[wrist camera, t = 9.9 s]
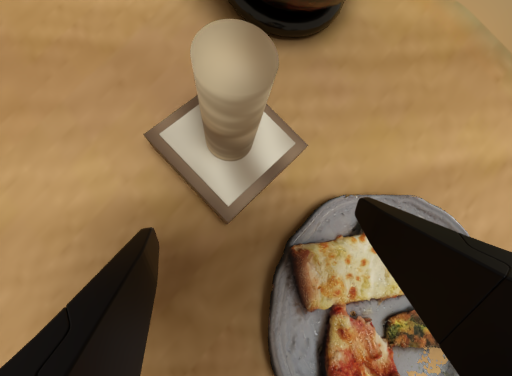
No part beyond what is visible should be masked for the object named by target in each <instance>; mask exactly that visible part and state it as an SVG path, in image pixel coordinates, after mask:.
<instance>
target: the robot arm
mask: <svg viewBox="0 0 512 376" xmlns="http://www.w3.org/2000/svg"><path fill="white" fill-rule="evenodd" d="M355 217H356V219H357V221H358V223H359V225H360V226H361V228H362V230H363V232H364V234H365V236H366V237H367V239H368V241H369V243H370V244H371V246H372V248H373V249H374V251H375V252H376V254H377V255H378V257H379V258H380V259H381V261H382V262H383V264H384V265H385V267H386V268H387V270H388V271H389V273H390V274H391V276H392V277H393V279H394V280H395V282H396V283H397V285H398V286H399V288H400V289H401V290H402V292H403V293H404V295H405V296H406V298H407V299H408V301H409V302H410V304H411V305H412V307H413V308H414V310H415V311H416V313H417V314H418V316H419V317H420V318H421V320H422V321H423V323H424V324H425V326H426V327H427V329H428V330H429V332H430V333H431V335H432V336H433V338H434V339H435V341H436V342H437V344H439V347H440V348H441V350H442V351H443V353H444V354H445V356H446V357H447V359H448V360H449V362H450V363H451V364H452V366H453V367H454V369H455V370H456V372H457V373H458V375H459V376H512V252H510V251H507V250H504V249H501V248H498V247H496V246H493V245H490V244H487V243H485V242H482V241H479V240H477V239H474V238H471V237H469V236H466V235H464V234H461V233H457V232H456V231H454V230H451V229H449V228H446V227H444V226H441V225H438V224H436V223H433V222H431V221H428V220H426V219H423V218H421V217H418V216H416V215H413V214H411V213H408V212H406V211H403V210H401V209H398V208H396V207H393V206H390V205H388V204H385V203H383V202H380V201H378V200H375V199H373V198H370V197H363V198H360V199H359V200H358V202H357V206H356V209H355ZM158 260H159V242H158V239H157V236H156V233H155V230H154V228H152V227H150V228H143V229H141V230H140V231H139V232H138V233H137V234H136V235H135V236H134V237H133V238H132V239H131V240H130V241H129V242H128V243H127V244H126V245H125V246H124V247H123V248H122V249H121V250H120V251H119V252H118V253H117V254H116V255H115V256H114V257H113V258H112V259H111V260H110V261H109V262H108V263H107V264H106V265H105V266H104V267H103V269H102V270H101V271H100V272H99V273H98V274H97V275H96V276H95V277H94V278H93V279H92V280H91V281H90V282H89V283H88V284H87V285H86V286H85V287H84V288H83V289H82V290H81V291H80V292H79V293H78V294H77V295H76V296H75V297H74V298H73V299H72V300H71V301H70V302H69V303H68V304H67V305H66V307H65V308H63V309H62V310H61V311H60V312H59V313H58V314H57V315H56V316H55V317H54V318H53V319H52V320H51V321H50V322H49V323H48V324H47V325H46V326H45V327H44V328H43V329H42V330H41V331H40V332H39V333H38V334H37V335H36V336H35V337H34V338H33V339H32V340H31V341H30V342H28V343H27V344H26V345H25V346H24V347H23V348H22V349H21V350H20V351H19V352H18V353H17V354H16V355H14V356H13V357H12V358H11V359H10V360H9V361H8V362H7V363H6V364H5V365H3V366H2V367H1V368H0V376H140V374H141V368H142V363H143V358H144V352H145V347H146V341H147V336H148V330H149V325H150V320H151V314H152V309H153V303H154V298H155V292H156V287H157V276H158Z"/></svg>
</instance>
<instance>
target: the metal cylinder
mask: <svg viewBox="0 0 512 376" xmlns="http://www.w3.org/2000/svg"><path fill="white" fill-rule="evenodd" d="M190 54H191V62H192V67H193V73H194V78H195V84H196V89H197V95H198V100H199V106H200V111H201V117H202V123H203V128H204V134H205V139H206V144H207V147H208V149H209V151H210V152H211V153H212V154H213V155H214V156H215V157H217V158H219V159H221V160H224V161H237V160H240V159H242V158H243V157H245V156H246V155H247V154H248V153H249V152H250V150H251V148H252V145H253V142H254V139H255V136H256V133H257V130H258V127H259V124H260V121H261V118H262V115H263V112H264V109H265V106H266V103H267V100H268V97H269V94H270V91H271V88H272V85H273V82H274V79H275V76H276V73H277V70H278V66H279V57H278V52H277V49H276V47H275V45H274V43H273V41H272V40H271V38H270V37H269V36H268V35H267V34H266V33H265V32H264V31H263V30H261V29H260V28H259V27H257V26H255V25H253V24H251V23H249V22H246V21H243V20H238V19H222V20H217V21H214V22H211V23H209V24H207V25H206V26H204V27H203V28H202V29H201V30H200V31H199V32H198V33H197V34H196V36H195V37H194V39H193V41H192V45H191V50H190Z"/></svg>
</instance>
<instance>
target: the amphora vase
mask: <svg viewBox="0 0 512 376" xmlns="http://www.w3.org/2000/svg"><path fill="white" fill-rule="evenodd" d="M228 1H229V2H230V3H231V4H232V6H233V7H234V8H235V9H236V11H237V12H238V13H239V14H240V15H241V16H242V17H243V18H244V19H246V20H247V21H248V22H250V23H251V24H253V25H255V26H257V27H259V28H260V29H262V30H264V31H266V32H268V33H271V34H275V35H279V36H283V37H302V36H306V35H311V34H315V33H317V32H319V31H321V30H323V29H324V28H326V27H328V26H329V25H330V24H331V23H332V22H333V21H334V19H335V18H336V17H337V16H338V14H339V12H340V10H341V8H342V5H343V3H344V1H345V0H228Z"/></svg>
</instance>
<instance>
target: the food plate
mask: <svg viewBox="0 0 512 376" xmlns="http://www.w3.org/2000/svg"><path fill="white" fill-rule="evenodd" d="M345 196H346V195H343V196H339V197H337V198H333V199H331V200H328V201H327V202H325V203H324V204H322V205H321V206H320V207H318V208H317V209H316V210H314V212H313V213H312V214H311V215H310V217H309V218H307V220H306V221H305V222H304V223H303V224H302V226H301V227H300V228H299V229H298V231H296V233H294V235H292V236H291V238H290V239H289V240H288V242H287V244H286V247H285V249H284V254H283V255H282V258H281V260H280V262H279V264H278V265H277V267H276V271H275V274H274V277H273V283H272V284H273V285H272V286H273V288H272V289H273V290H272V291H271V298H270V313H269V324H268V346H269V352H270V359H271V365H272V369H273V372H274V375H275V376H408V374H407V372H406V371H408V372H409V371H416V372H418V373H421V374H422V372H424V373H426V374H427V375H428V376H431V375H432V376H459V375H458V373H457V372H456V370H455V369H454V367H453V366H452V364H451V363H450V362H449V360H448V361H447V363H446V364H444V365H443V366H442V364H440V365H438V366H439V367H440V369H441V373H440V374H439V375H437V374H436V373H430V374H428V372H427V370H426V369H424V368H423V365H426V367H427V368H428V363H425V362H423V364H422V363H419V364H418V363H417V362H418V360H419V359H421V360H422V358H421V356H422V354H423V355H424V357H425V356H428V354H427V353H429V349H427V351H426V350H425V351H426V354H424V353H423V351H424V349H423V347H427V348H429V347H438V348H440V347H439V344H437V342H436V341H435V339H434V338H433V336H432V335H431V333H430V332H429V330H428V329H427V327H426V326H425V324H424V323H423V321H422V320H421V318H420V317H419V316H418V314H417V313H416V311H415V310H414V308H413V307H412V305H411V304H410V302H409V301H408V299H407V298H406V296H405V295H404V293H403V292H402V290H401V289H400V288H399V286H398V285H397V283H396V282H395V280H394V279H393V277H392V276H391V274H390V273H389V271H388V270H387V268H386V267H385V265H384V264H383V262H382V261H381V259H380V258H379V257H378V255H377V254H376V252H375V251H374V249H373V248H372V246H371V244H370V243H369V241H368V239H367V237H366V236H365V234H364V232H363V230H362V228H361V226H360V225H359V223H358V221H357V219H356V217H355V209H356V206H357V202H358V200H359V199H360V198H363V197H370V198H373V199H375V200H378V201H380V202H383V203H385V204H388V205H390V206H393V207H396V208H398V209H401V210H403V211H406V212H408V213H411V214H413V215H416V216H418V217H421V218H423V219H426V220H428V221H431V222H433V223H436V224H438V225H441V226H444V227H446V228H449V229H451V230H454V231H456V232H457V233H461V234H464V235H466V236H469V235H468V233H467V231H466V230H465V229H464V228H463V227H462V226H461V225H460V224H459V223H458V222H457V221H456V219H454V218H453V217H452V216H451V215H449V214H448V213H447V212H445V210H442V209H441V208H439V207H437V206H435V205H432V204H430V203H428V202H427V201H425V200H424V199H422V198H419V197H420V196H419V197H411V196H413V195H367V196H361V195H356V196H353V195H350V196H349V197H348V196H347V197H345ZM469 237H470V236H469ZM351 311H355V312H356V316H351V315H350V312H351ZM419 354H421V355H419ZM443 357H444V359H445V355H444V354H443ZM428 361H429V363H431V361H430V358H429V357H428ZM436 361H437V360H436ZM441 363H442V362H441ZM436 366H437V364H436ZM436 368H437V367H436ZM430 369H433V368H432V367H430ZM415 376H416V374H415Z"/></svg>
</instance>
